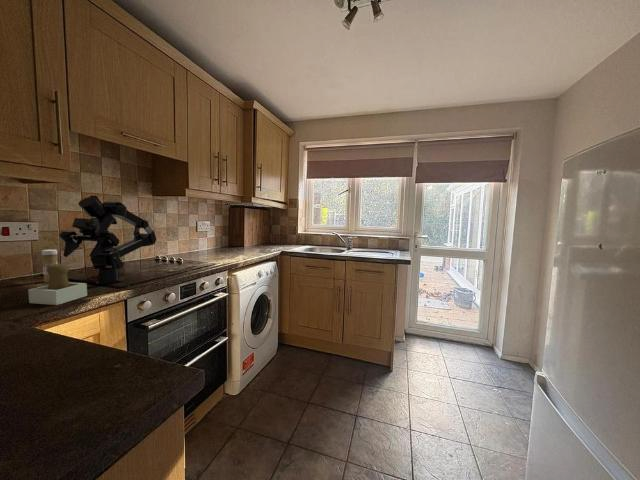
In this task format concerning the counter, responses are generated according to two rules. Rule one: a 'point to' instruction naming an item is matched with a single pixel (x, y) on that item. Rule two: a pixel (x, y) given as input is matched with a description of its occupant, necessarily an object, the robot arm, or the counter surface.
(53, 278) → the cork
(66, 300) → the end cap socket
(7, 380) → the counter surface
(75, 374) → the counter surface
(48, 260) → the sprinkles bottle
